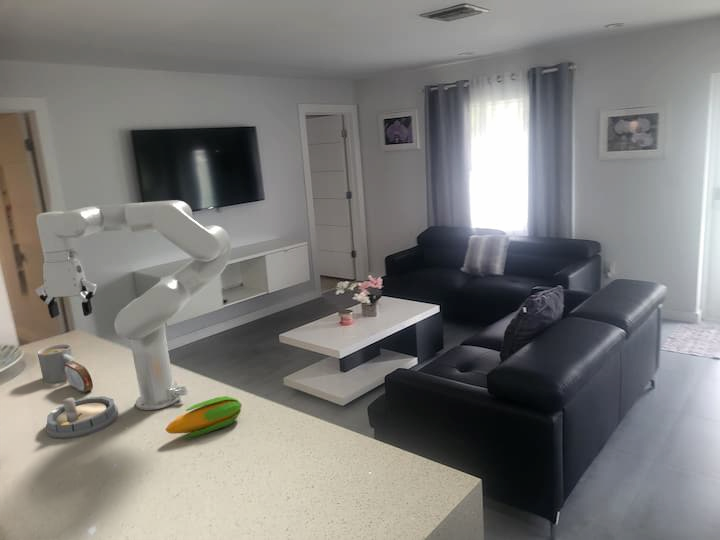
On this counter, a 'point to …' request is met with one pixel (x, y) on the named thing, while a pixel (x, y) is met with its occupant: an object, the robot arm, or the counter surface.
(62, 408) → the dial housing
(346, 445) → the counter surface
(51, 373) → the coffee mug
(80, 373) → the tin
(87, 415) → the dial
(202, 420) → the corn
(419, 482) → the counter surface
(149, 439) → the counter surface
